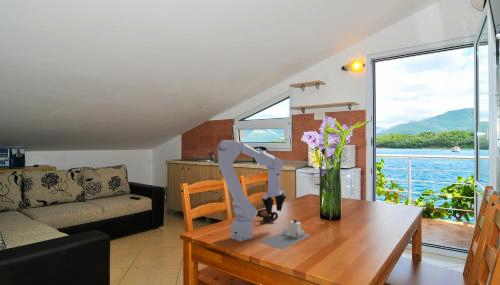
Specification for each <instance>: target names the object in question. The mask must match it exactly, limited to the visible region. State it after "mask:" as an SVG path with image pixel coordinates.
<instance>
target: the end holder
mask: <svg viewBox="0 0 500 285" xmlns="http://www.w3.org/2000/svg"><path fill="white" fill-rule="evenodd" d="M283 232H284V234H283V235H284V236H288V237H292V238H296V239H298V238H300V237H302V236H305V234H306V233H305V230H304V229H301V231H298V232H296V236H294V235H290V226H289V227H286V228H283Z"/></svg>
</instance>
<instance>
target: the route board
mask: <svg viewBox="0 0 500 285" xmlns="http://www.w3.org/2000/svg"><path fill="white" fill-rule="evenodd" d="M283 234H284V231H282V232H280V233H278V234H275V235H272V236H270V237H267V238H265V239H263V240H260V241H259V243H261V244H264V245H268V246H271V247H273V248H277V249H280V250H284V249H287V248H288V247H290V246H293V245H294V244H297V243H299V242H300V241H303V240H305V239H307V238H309V237H311V236H312V234H311V235H310V234H308V233H304V234H305V236H302V237H300V238H298V239H296V238H292V237H288V236H284V235H283Z"/></svg>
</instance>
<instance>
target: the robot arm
mask: <svg viewBox="0 0 500 285" xmlns="http://www.w3.org/2000/svg"><path fill="white" fill-rule="evenodd" d="M216 149H217V154H218V156H217V157H218V158H217V160H218V161H217V165H218V168H219V169H220V172H221V174H222V177H223V179H224V181H225V183H226V185H227V188H228V191H229V192H230V195H231V198H232V199H233V201H232V202H231V203H232V206H233V208H232V209H233V213H234V214H235V218H236V219H235V220H234V221H232V223H231V224H230V239H232V240H235V241H238V242H243V241H247V240H250V239H252V238H254V236H253V235H254V233H253V232H254V226H253V224H254V222H253V221H254V218H256V215H257V208H256V207H255V205H254V204H252V202H251V200H250V198H248V197H247V196H246V194H245V191H244V189H243V187H242V184H241V182H240V179H239V178H238V175H237V173H236V171H235V168H234V166H233V164H234V161H235V160H236V159H237V158H238V156H239V155H240V154H244V155H246V156H249V157H251V158H254V160H255V162H256V163H257V164H260V165H262V166H264V167H266V169H267V170H268V171H267V192H266V193H263V194H262V198H261V201H262V202H263V204H264V207H265V208H264V209H266V211H267V214H271V213H272V212H273V205H274V200H275V206H276V212H277V211H278V212H281V211H282V209H283V205H284V202H285V200H286V199H287V196H286V195H285V194H286V190H282V189H281V174H282V169H283V167H284V163H283V160H282V159H281V158H280V157H275V155H274V154H269V152H267V150H259V151H258V150H256V149H255V148H254V147H253V148H252V146H249V145H248V144H245V143H244V142H243V141H239V140H237V139H233V140H232V139H231V140H227V139H222V140H221V141H220V142H219V144H218V146H217V148H216ZM272 198H274V199H272Z"/></svg>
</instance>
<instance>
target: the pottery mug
mask: <svg viewBox="0 0 500 285" xmlns="http://www.w3.org/2000/svg"><path fill="white" fill-rule="evenodd" d="M255 218H262V220H259V224H260V226H264V225H267V224H271V223H274V222H275V221H277V220H278V218H279V215H278V212H277V211H272V213H271V214H267V211H266V208H262V209H259V210H256V215H255Z"/></svg>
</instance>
